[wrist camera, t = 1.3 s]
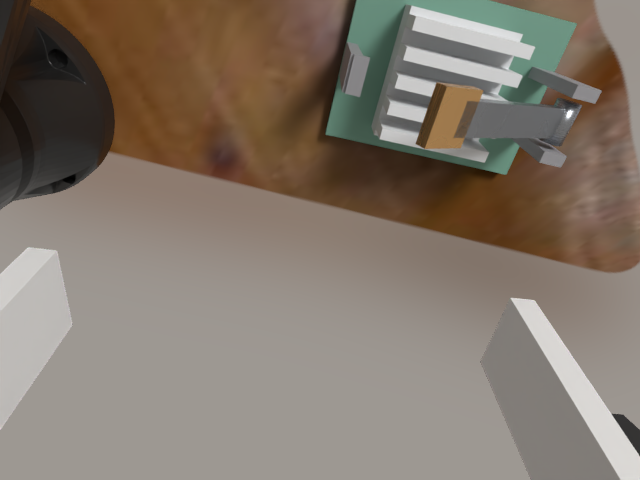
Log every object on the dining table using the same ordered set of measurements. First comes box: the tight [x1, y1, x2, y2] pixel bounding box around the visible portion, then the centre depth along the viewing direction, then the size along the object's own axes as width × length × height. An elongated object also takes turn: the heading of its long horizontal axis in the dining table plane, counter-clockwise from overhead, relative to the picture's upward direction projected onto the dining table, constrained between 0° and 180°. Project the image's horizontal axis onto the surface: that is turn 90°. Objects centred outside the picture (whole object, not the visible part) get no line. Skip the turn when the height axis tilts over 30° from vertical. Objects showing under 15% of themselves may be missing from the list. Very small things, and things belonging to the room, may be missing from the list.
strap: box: [416, 82, 582, 149], centre depth 26 cm, size 14×3×2 cm
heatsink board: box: [326, 0, 602, 175], centre depth 31 cm, size 16×12×8 cm
